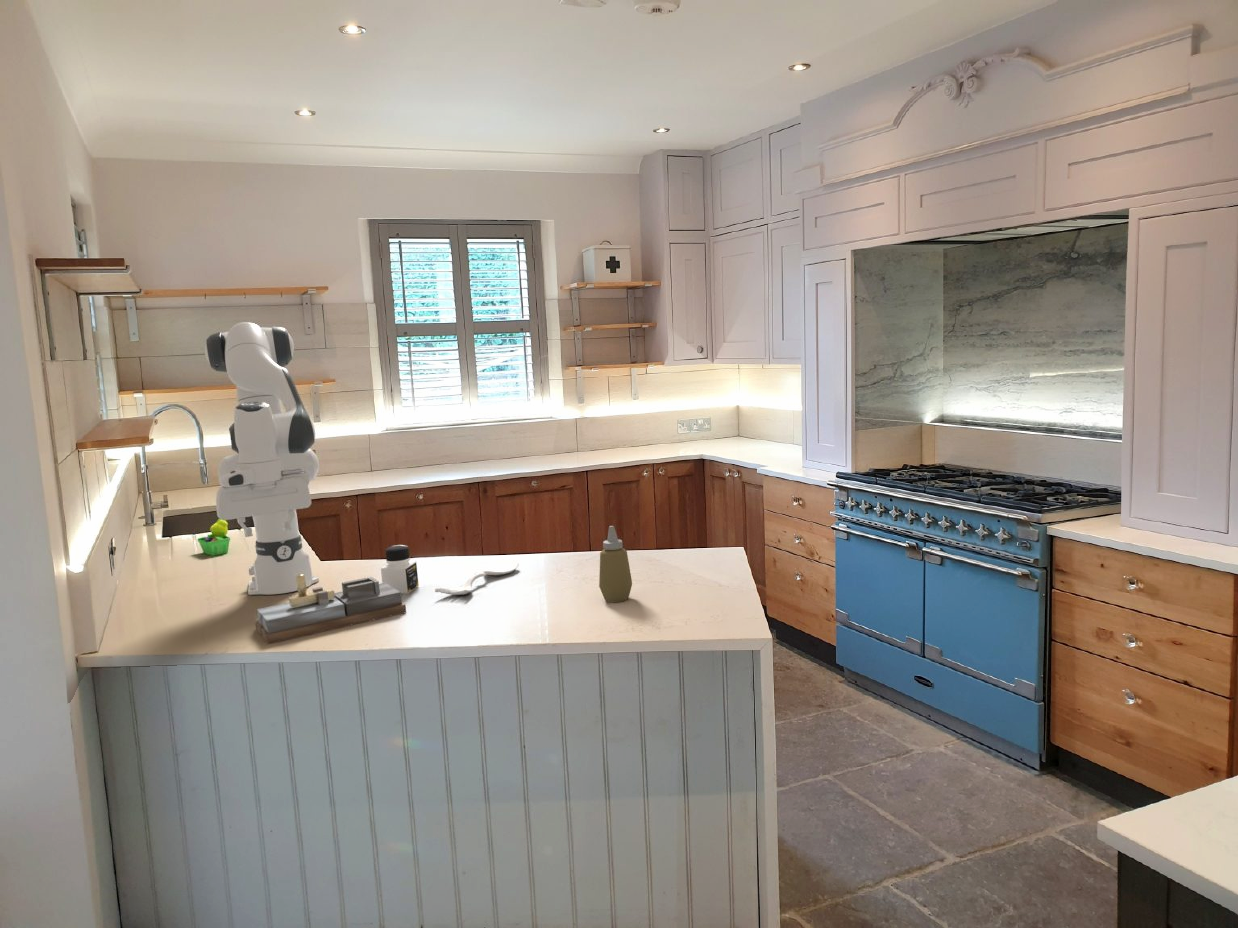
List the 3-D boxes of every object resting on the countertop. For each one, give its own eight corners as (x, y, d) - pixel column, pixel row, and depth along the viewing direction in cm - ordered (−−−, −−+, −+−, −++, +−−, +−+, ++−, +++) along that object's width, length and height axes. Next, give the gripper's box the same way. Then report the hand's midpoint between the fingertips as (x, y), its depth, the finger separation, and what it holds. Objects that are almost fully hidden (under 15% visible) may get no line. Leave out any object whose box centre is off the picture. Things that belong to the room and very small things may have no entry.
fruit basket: (198, 553, 305) (193, 520, 303) (224, 547, 311) (220, 515, 309) (209, 557, 296) (205, 524, 295) (236, 551, 302) (232, 519, 301)
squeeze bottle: (611, 606, 211) (606, 531, 209) (593, 599, 218) (588, 526, 215) (639, 599, 215) (634, 525, 213) (621, 592, 222) (617, 521, 220)
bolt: (289, 605, 210) (286, 576, 209) (332, 596, 216) (329, 568, 215) (291, 607, 209) (288, 578, 208) (334, 598, 214) (331, 570, 213)
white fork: (434, 601, 227) (433, 587, 226) (497, 568, 256) (496, 556, 256) (465, 602, 223) (463, 589, 223) (524, 569, 253) (523, 557, 252)
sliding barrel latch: (256, 628, 212) (252, 596, 211) (387, 600, 229) (384, 570, 228) (268, 643, 201) (264, 609, 200) (406, 612, 218) (402, 580, 216)
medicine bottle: (408, 594, 234) (403, 549, 233) (383, 594, 235) (378, 550, 234) (419, 586, 241) (414, 542, 239) (394, 586, 242) (389, 543, 241)
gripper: (304, 466, 212) (311, 523, 214) (210, 478, 201) (219, 538, 203) (310, 468, 206) (317, 527, 208) (215, 481, 196) (223, 542, 197)
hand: (268, 533), depth 205 cm, fingers open, 7 cm apart
